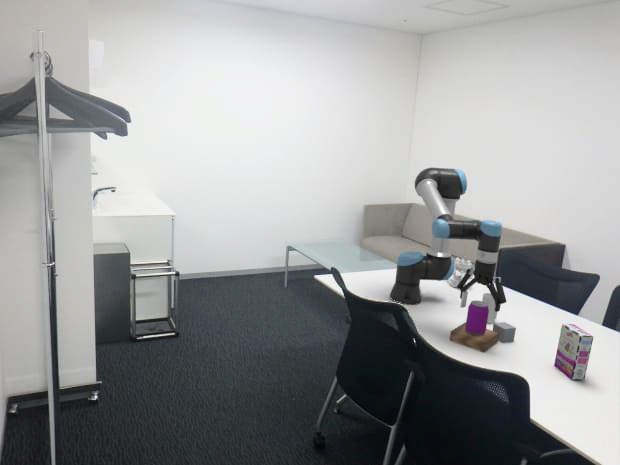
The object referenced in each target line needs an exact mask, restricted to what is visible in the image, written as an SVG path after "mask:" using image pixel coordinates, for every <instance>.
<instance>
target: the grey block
mask: <svg viewBox="0 0 620 465" xmlns="http://www.w3.org/2000/svg"><path fill="white" fill-rule="evenodd" d="M516 330H517V327H516V326H513V325H511V324H509V323H507V322H505V321H504V322H496V323H495V322H494V323H493V326H492V331H495V332H498V333H499V337H498V342H500V343H502V344H505V343H512V342H514V341H515V335H516Z"/></svg>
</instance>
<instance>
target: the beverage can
mask: <svg viewBox="0 0 620 465" xmlns="http://www.w3.org/2000/svg"><path fill="white" fill-rule="evenodd" d="M488 313H489V309H488V304H487V303H485V302H482V300H471V302H470V304H469V305H468V307H467V315H466V321H465V322H466V330H467V331H468V332H469V333H471V334H474V335H482V334H484V333H485V332H486V329H487V324H488V323H487V320H488Z"/></svg>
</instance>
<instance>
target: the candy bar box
mask: <svg viewBox="0 0 620 465" xmlns="http://www.w3.org/2000/svg"><path fill="white" fill-rule="evenodd" d="M593 342H594V336H593V335H591V334H590V333H589V332H587V331H586V330H584V329H582V328H580V327H579V326H577V325H576V324H572V323H569V324H568V323H561V328H560V335H559V338H558V343H557V350H556V354H555V359H554V366H555V368H557V369H558V370H559V371H560V372H562V373H563V375H564V376H565V375H566V376H567V377H568V378H569V379H570V380H571V381H585V379H586V374H587V370H588V363H589V359H590V355H591V350H592V345H593Z"/></svg>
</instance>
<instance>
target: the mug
mask: <svg viewBox="0 0 620 465" xmlns="http://www.w3.org/2000/svg"><path fill="white" fill-rule="evenodd" d="M481 301H482V302H485V303H487V304H488V309H489V313H488V320H487V324H494V323H495V321H496V319H493V320H492V319H491V314H492V308H493V303H495V301H494V299H493V297H492V295H491V293H490V292H484V293H483V294H482V299H481Z"/></svg>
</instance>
